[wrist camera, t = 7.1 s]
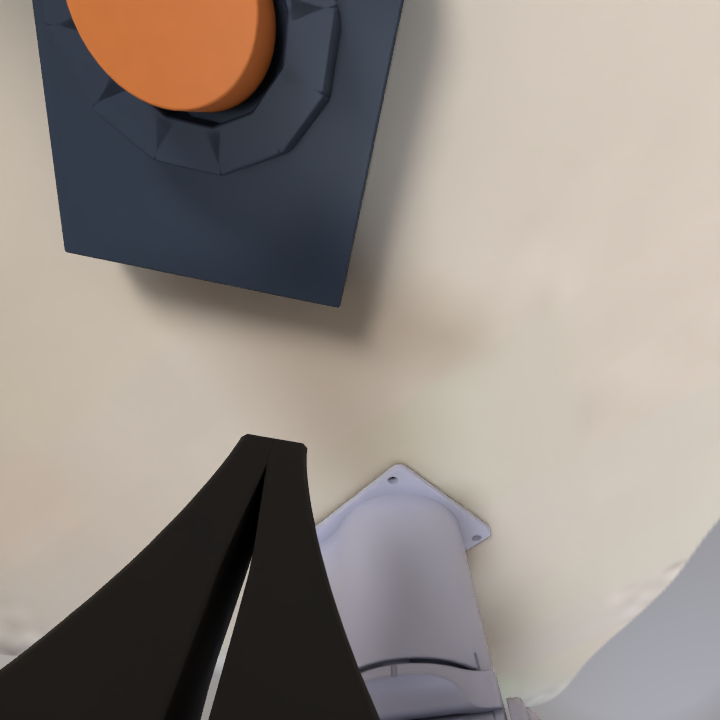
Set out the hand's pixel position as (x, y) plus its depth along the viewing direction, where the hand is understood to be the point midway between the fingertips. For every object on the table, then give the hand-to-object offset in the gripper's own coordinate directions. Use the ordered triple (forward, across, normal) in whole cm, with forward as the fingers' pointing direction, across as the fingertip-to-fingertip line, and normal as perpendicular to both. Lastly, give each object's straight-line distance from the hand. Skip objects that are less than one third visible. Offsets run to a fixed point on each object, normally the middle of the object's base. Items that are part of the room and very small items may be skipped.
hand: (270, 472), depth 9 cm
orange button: (+6, +4, -8) cm, 11 cm away
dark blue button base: (+10, +4, -7) cm, 13 cm away
